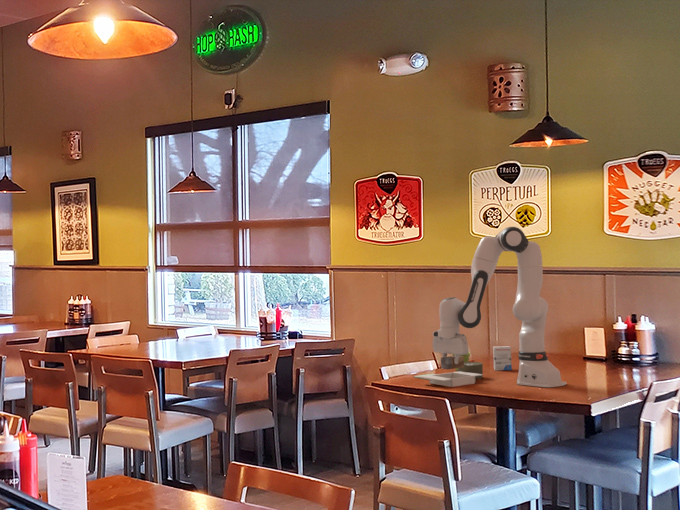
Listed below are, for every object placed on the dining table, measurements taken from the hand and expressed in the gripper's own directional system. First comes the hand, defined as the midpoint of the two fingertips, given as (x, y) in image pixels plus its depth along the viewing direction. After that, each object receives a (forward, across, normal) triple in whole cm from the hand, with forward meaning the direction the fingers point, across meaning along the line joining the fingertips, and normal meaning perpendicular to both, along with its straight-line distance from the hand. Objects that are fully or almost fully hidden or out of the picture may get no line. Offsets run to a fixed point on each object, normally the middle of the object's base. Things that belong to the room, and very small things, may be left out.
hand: (451, 363), depth 368 cm
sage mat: (+9, +20, -6) cm, 23 cm away
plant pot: (+9, +27, -33) cm, 44 cm away
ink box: (+10, +14, -49) cm, 52 cm away
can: (+10, +7, -18) cm, 22 cm away
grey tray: (+9, 0, -1) cm, 9 cm away
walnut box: (+2, 0, -1) cm, 2 cm away
